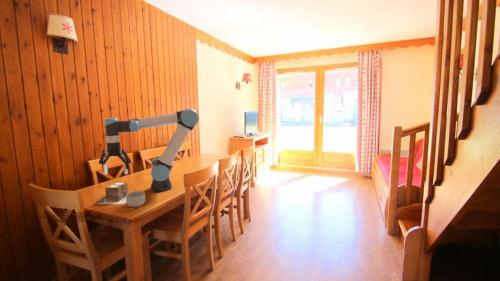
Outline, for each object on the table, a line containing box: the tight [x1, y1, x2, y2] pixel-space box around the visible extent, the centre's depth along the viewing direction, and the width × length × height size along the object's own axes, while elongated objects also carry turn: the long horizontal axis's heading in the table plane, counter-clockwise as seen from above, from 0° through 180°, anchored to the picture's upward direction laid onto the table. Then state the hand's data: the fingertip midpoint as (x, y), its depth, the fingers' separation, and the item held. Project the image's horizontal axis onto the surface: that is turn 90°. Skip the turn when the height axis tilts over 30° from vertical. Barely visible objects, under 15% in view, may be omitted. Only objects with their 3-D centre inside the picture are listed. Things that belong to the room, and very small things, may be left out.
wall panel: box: [94, 195, 127, 205], centre depth 168 cm, size 18×20×2 cm
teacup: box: [126, 190, 146, 208], centre depth 157 cm, size 14×11×8 cm
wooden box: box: [104, 181, 129, 202], centre depth 167 cm, size 12×8×9 cm, turn 179°
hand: (116, 174), depth 166 cm, fingers open, 13 cm apart
